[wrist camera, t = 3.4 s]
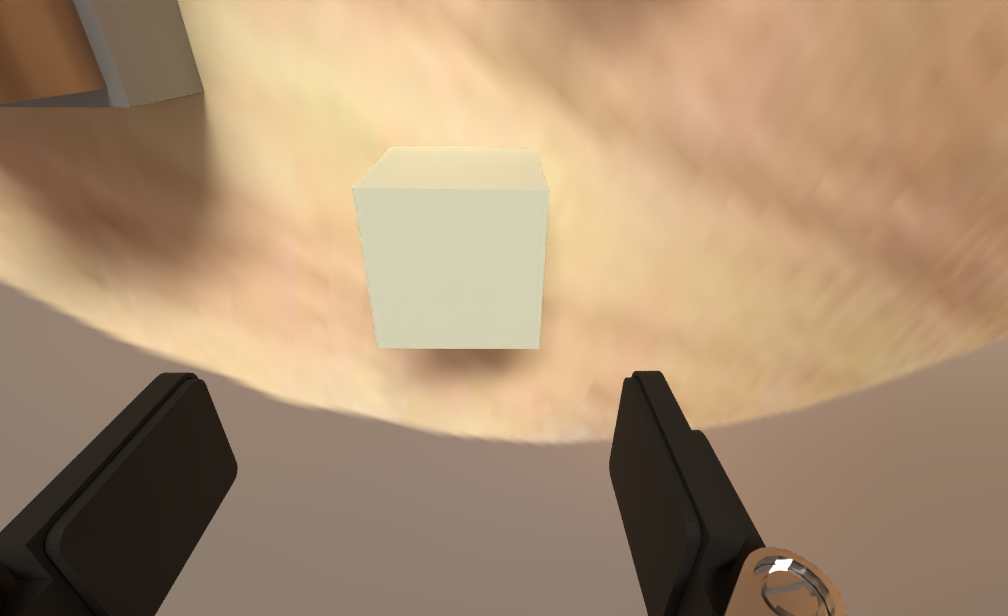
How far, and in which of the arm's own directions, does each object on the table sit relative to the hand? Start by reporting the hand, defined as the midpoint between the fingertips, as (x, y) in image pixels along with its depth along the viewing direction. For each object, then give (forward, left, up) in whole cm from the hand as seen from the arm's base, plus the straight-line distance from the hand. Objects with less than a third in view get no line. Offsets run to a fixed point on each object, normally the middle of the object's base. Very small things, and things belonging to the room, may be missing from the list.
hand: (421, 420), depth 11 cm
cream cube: (0, -1, -12) cm, 12 cm away
